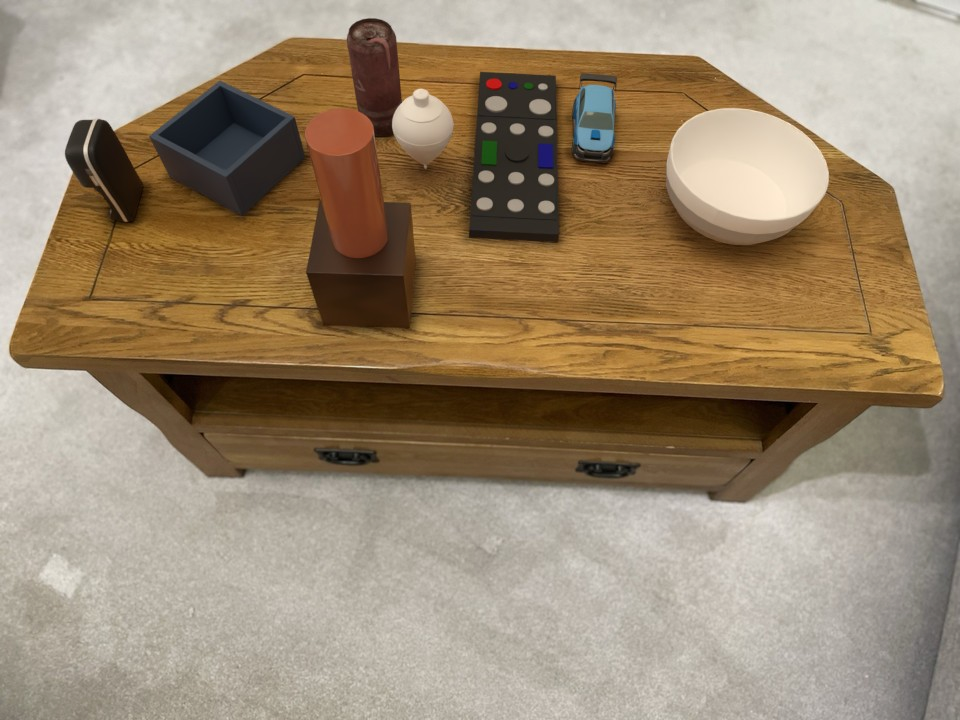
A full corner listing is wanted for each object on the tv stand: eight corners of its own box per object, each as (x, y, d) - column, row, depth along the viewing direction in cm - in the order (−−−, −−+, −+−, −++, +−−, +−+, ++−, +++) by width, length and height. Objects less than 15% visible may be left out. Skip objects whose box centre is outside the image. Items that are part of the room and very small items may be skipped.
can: (385, 144, 91) (374, 53, 79) (351, 124, 93) (335, 32, 81) (413, 121, 94) (407, 29, 82) (380, 102, 96) (368, 9, 84)
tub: (242, 216, 84) (225, 177, 78) (169, 176, 87) (148, 136, 82) (305, 157, 90) (294, 116, 84) (235, 122, 93) (219, 80, 87)
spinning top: (386, 161, 90) (377, 85, 79) (435, 140, 92) (432, 64, 82) (414, 197, 87) (408, 123, 76) (464, 175, 89) (465, 100, 78)
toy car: (569, 164, 90) (575, 131, 85) (571, 105, 96) (577, 71, 91) (612, 168, 90) (621, 135, 85) (612, 109, 96) (620, 75, 91)
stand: (323, 325, 76) (305, 272, 68) (334, 257, 81) (319, 199, 73) (409, 328, 77) (403, 275, 68) (415, 259, 82) (410, 202, 73)
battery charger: (115, 184, 87) (71, 112, 77) (145, 183, 87) (104, 111, 77) (103, 225, 83) (55, 155, 73) (134, 224, 83) (90, 154, 73)
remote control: (554, 84, 99) (556, 72, 97) (557, 242, 84) (559, 231, 82) (479, 80, 99) (480, 68, 97) (469, 237, 84) (469, 226, 82)
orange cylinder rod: (365, 267, 68) (345, 165, 56) (319, 242, 70) (290, 137, 58) (399, 229, 71) (387, 124, 59) (354, 206, 72) (333, 99, 60)
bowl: (817, 197, 89) (850, 146, 81) (766, 292, 80) (797, 246, 73) (687, 140, 93) (707, 88, 86) (627, 225, 85) (643, 175, 78)
